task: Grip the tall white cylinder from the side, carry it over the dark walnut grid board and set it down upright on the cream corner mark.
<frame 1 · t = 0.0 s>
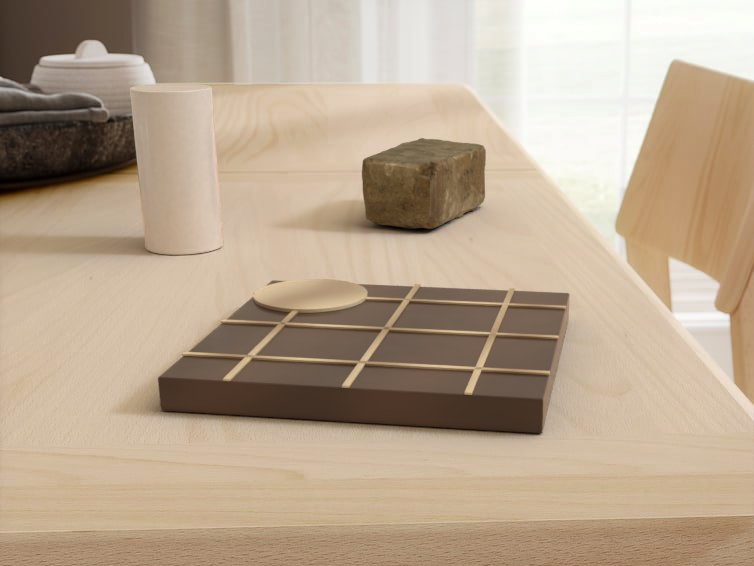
tall white cylinder: (184, 246, 77), on the table
grid board: (387, 360, 55), on the table
stone block: (426, 218, 86), on the table
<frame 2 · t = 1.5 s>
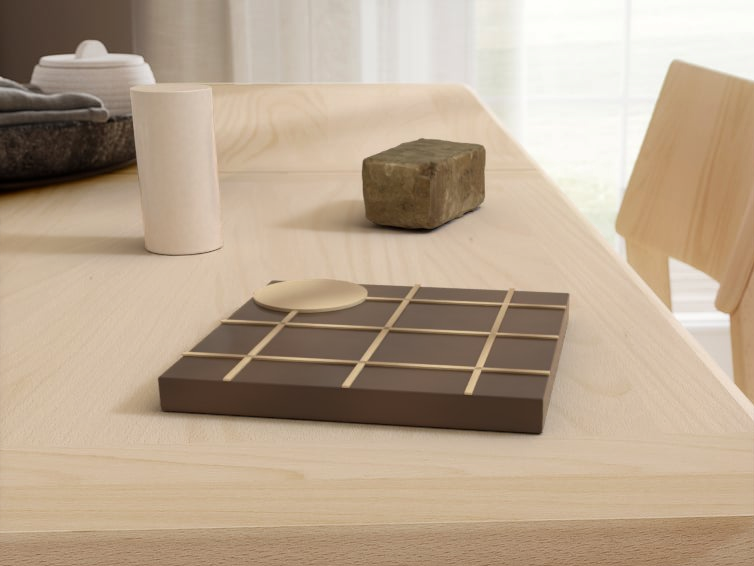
nothing on the table moved.
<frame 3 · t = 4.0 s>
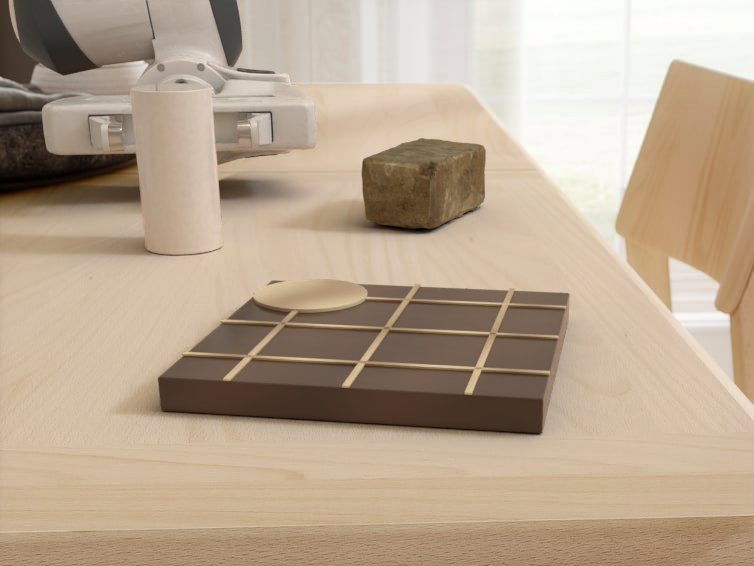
hand: (180, 137, 83), 6 cm above the table, tool horizontal, fingers open, 8 cm apart
nothing on the table moved.
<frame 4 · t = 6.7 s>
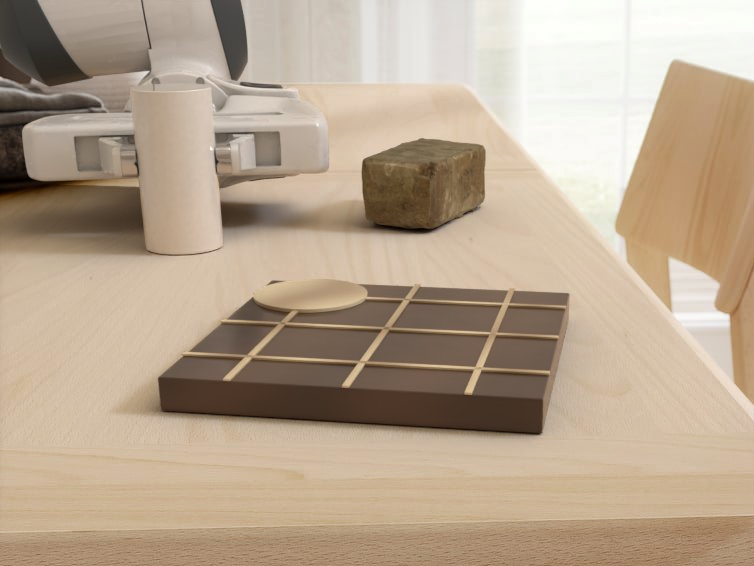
hand: (177, 162, 74), 6 cm above the table, tool horizontal, fingers closed on tall white cylinder, 5 cm apart
tall white cylinder: (184, 245, 77), on the table, touching gripper
everything else where it was.
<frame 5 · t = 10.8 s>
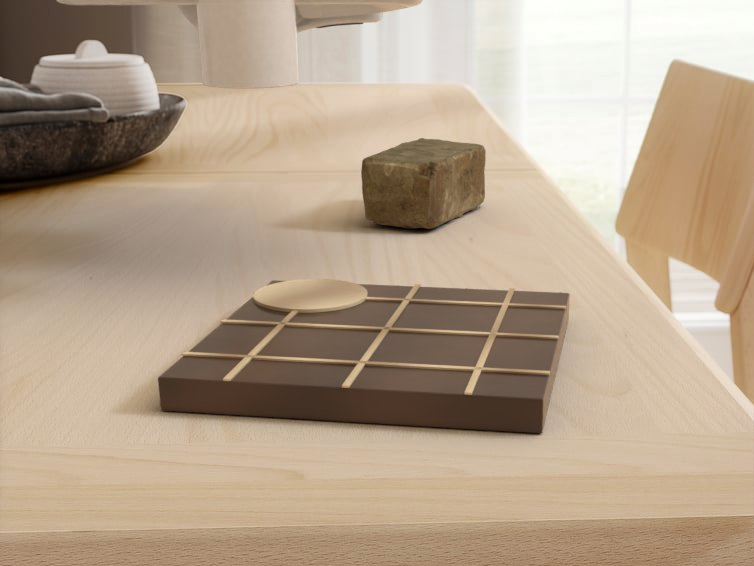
tall white cylinder: (251, 83, 61), point 11 cm above the table, touching gripper
everything else where it was.
when the fingers open (7 cm above the table, at t = 14.8 s): tall white cylinder stays where it is, resting on grid board.
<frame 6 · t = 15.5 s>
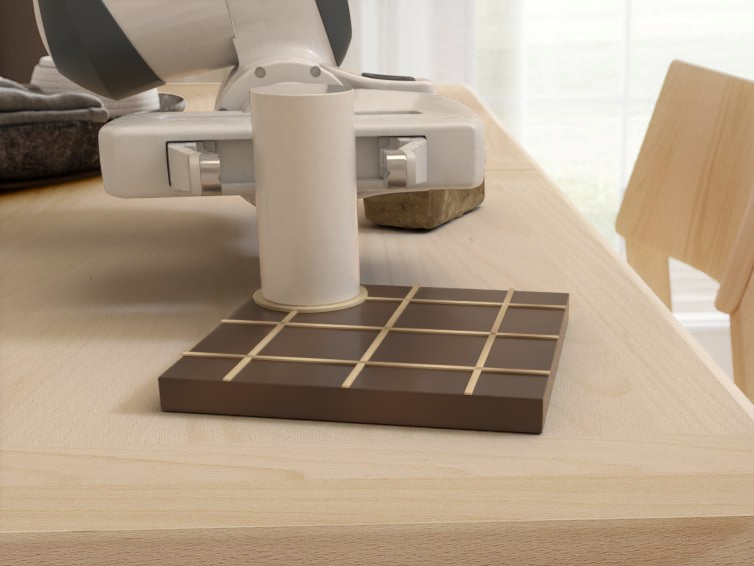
hand: (305, 176, 56), 8 cm above the table, tool horizontal, fingers open, 8 cm apart
tall white cylinder: (311, 292, 60), point 2 cm above the table, touching grid board
everything else where it was.
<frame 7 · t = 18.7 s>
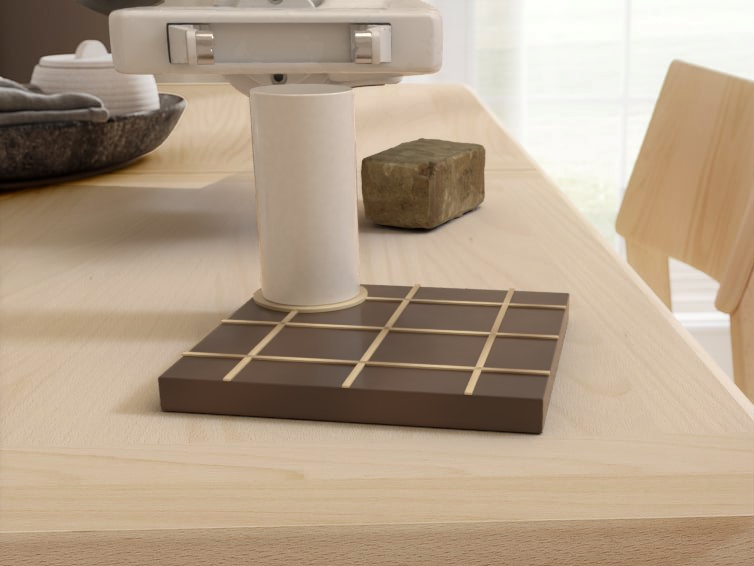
hand: (285, 48, 66), 13 cm above the table, tool horizontal, fingers open, 8 cm apart
nothing on the table moved.
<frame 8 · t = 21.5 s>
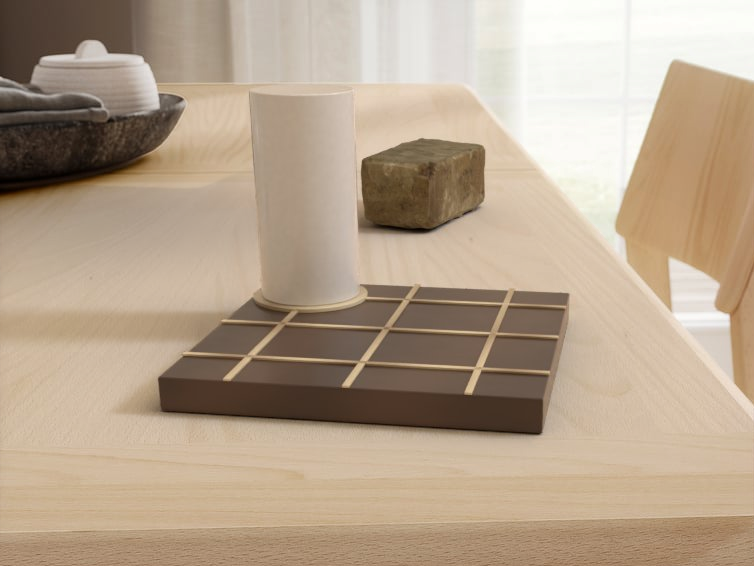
nothing on the table moved.
at the end: tall white cylinder 0.1 cm from the target spot on the grid board, point 1.7 cm above the grid board's base; tall white cylinder tilted 0°; the gripper is holding nothing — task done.
